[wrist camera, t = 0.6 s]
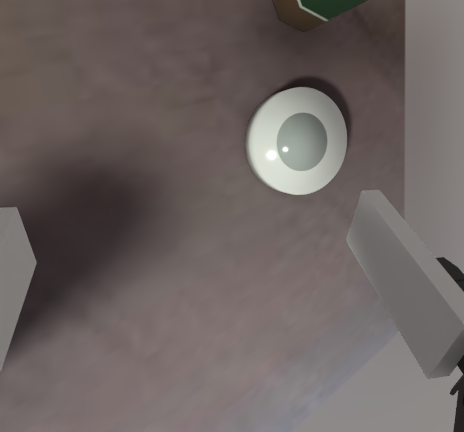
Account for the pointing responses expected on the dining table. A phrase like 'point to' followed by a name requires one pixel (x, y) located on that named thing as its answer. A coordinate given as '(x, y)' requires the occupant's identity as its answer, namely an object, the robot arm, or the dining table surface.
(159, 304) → the dining table surface
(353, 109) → the dining table surface
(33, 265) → the robot arm
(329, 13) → the beer bottle
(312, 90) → the plinth
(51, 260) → the dining table surface
